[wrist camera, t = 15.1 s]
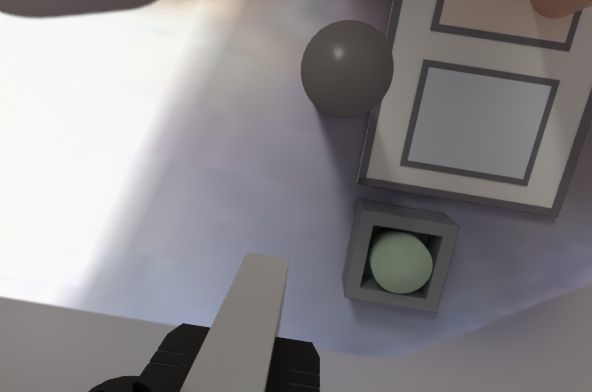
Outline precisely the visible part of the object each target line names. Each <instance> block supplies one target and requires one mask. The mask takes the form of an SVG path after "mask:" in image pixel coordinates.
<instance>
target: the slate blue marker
mask: <svg viewBox="0 0 592 392" xmlns="http://www.w3.org/2000/svg"><path fill="white" fill-rule="evenodd" d="M393 72H394V62H393V56H392V52H391V49H390V47H389V45H388V43H387V41H386V40H385V38H384V37H383V36H382V35H381V34H380V33H379V32H378V31H377V30H376V29H375V28H373V27H372V26H370V25H368V24H366V23H363V22H359V21H354V20H344V21H339V22H335V23H332V24H330V25H328V26H326V27H324V28H323V29H322V30H320V31H319V32H318V33H317V34H316V35H315V36H314V37H313V38H312V39H311V41H310V42H309V44H308V45H307V47H306V49H305V52H304V55H303V58H302V63H301V78H302V83H303V87H304V89H305V92H306V94H307V95H308V97H309V99H310V100H311V101H312V103H313V104H314V105H315V106H316V107H317V108H318V109H320V110H321V111H322V112H324V113H326V114H329V115H332V116H336V117H354V116H358V115H361V114H364V113H366V112H368V111H370V110H371V109H373V108H374V107H375V106H376V105H378V103H379V102H380V101H381V100H382V99H383V98H384V96H385V95H386V93H387V91H388V90H389V87H390V85H391V82H392V78H393Z"/></svg>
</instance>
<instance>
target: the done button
mask: <svg viewBox="0 0 592 392" xmlns="http://www.w3.org/2000/svg"><path fill="white" fill-rule="evenodd" d="M367 255H368V260H369V263H370V266H371V269H372V272H373V275H374V277H375V279H376V281H377V282H378V283H379V285H380V286H382V287H383V288H384V289H386V290H388V291H390V292H394V293H409V292H412V291H415V290H417V289H419V288H420V287H422V286H423V285H424V284H425V283H426V282H427V280H428V279H429V277H430V275H431V272H432V266H433V264H432V258H431V255H430V253H429V251H428V250H427V249H426V247H425V246H424V245H423V243H422V242H421V241H420V240H419V238H418V237H417V236H416V235H415V234H414V233H413V232H412V231H407V230H401V229H395V228H389V227H388V228H385V229H383V230H381V231H379V232H378V233H377V234H375V235H374V237H373V238H372V239H371V241H370V243H369V247H368V252H367Z"/></svg>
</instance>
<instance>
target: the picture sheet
mask: <svg viewBox="0 0 592 392" xmlns="http://www.w3.org/2000/svg"><path fill="white" fill-rule="evenodd" d="M385 40H386V41H387V43H388V45H389V47H390V49H391V52H392V56H393V62H394V72H393V78H392V82H391V85H390V87H389V90H388V91H387V93H386V95H385V96H384V98H383V99H382V100H381V101H380V102H379V103H378V105H376V106H375V107H374V108H373V109H371V112H370V117H369V122H368V127H367V132H366V137H365V142H364V147H363V152H362V157H361V162H360V167H359V172H358V177H357V184H362V185H368V186H374V187H380V188H386V189H392V190H398V191H404V192H410V193H416V194H422V195H428V196H434V197H440V198H446V199H452V200H458V201H464V202H470V203H476V204H482V205H488V206H494V207H500V208H506V209H512V210H518V211H524V212H530V213H536V214H542V215H548V216H554V217H558V214H559V211H560V209H561V206H562V203H563V200H564V197H565V194H566V191H567V188H568V185H569V182H570V179H571V176H572V173H573V170H574V167H575V164H576V162H577V159H578V156H579V153H580V150H581V147H582V144H583V141H584V138H585V135H586V132H587V129H588V126H589V123H590V120H591V117H592V6H590V7H588V8H585V9H583V10H580V11H578V12H575V13H573V14H570V15H568V16H565V17H562V18H556V19H555V18H547V17H544V16H542V15H540V14H539V13H538V12H537V11H536V10H535V9H534V8H533V6H532V4H531V2H530V0H393V2H392V7H391V12H390V17H389V22H388V27H387V32H386V37H385Z"/></svg>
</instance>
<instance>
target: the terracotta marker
mask: <svg viewBox="0 0 592 392" xmlns="http://www.w3.org/2000/svg"><path fill="white" fill-rule="evenodd" d="M530 2H531V4H532V6H533V8H534V9H535V10H536V11H537V12H538V13H539V14H540V15H542V16H544V17H547V18H555V19H556V18H562V17H565V16H568V15H570V14H573V13H575V12H578V11H580V10H583V9H585V8H588V7H590V6H592V0H530Z"/></svg>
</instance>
